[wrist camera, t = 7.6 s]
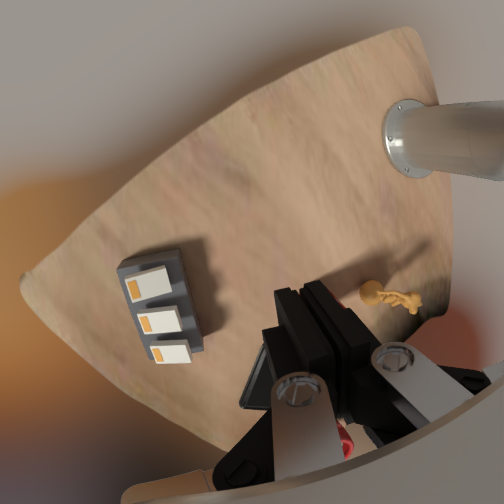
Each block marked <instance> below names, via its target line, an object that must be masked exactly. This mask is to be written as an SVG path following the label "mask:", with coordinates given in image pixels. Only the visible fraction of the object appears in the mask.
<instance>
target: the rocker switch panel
mask: <svg viewBox="0 0 504 504" xmlns="http://www.w3.org/2000/svg"><path fill="white" fill-rule="evenodd" d="M163 265H165V268H166V271H167V275H168V278H169V282H170V286H171V289H172V292H169V293H166V294H162V295H159V296H155V297H152V298H148V299H145V300H141V301H137V302H134V303H132V301H131V298H130V295H129V292H128V289H127V286H126V283H125V276H127V275H131V274H134V273H138V272H141V271H145V270H149V269H152V268H156V267H159V266H163ZM116 271H117V274H118V277H119V280H120V283H121V286H122V289H123V292H124V295H125V298H126V301H127V304H128V306H129V309H130V312H131V315H132V317H133V320H134V323H135V325H136V328H137V330H138V333H139V335H140V338H141V340H142V343H143V345H144V348H145V350H146V352H147V355H148V357H149V359H150V360H153V359H155V358H154V356H153V353H152V351H151V349H150V345H151V343H152V341H165V340H169V339H172V340H184V339H187V341H188V344H189V347H190V350H191V353H196V352H201V351H204V345H203V335H202V332H201V329H200V325H199V322H198V318H197V315H196V311H195V307H194V304H193V300H192V296H191V293H190V289H189V285H188V281H187V277H186V273H185V269H184V265H183V261H182V257H181V253H180V249H179V248H178V249H173V250H168V251H163V252H159V253H154V254H149V255H145V256H140V257H136V258H131V259H126V260H123V261H122V262H121V263H120V265H119V266H118V268H117V269H116ZM174 305H177V308H178V311H179V315H180V318H181V321H182V324H183V327H182V331H177V332H167V333H157V334H144V332H143V329H142V327H141V324H140V321H139V319H138V316H137V313H138V312H139V310H140V309H149V308H157V307H166V306H174Z"/></svg>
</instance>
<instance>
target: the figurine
mask: <svg viewBox="0 0 504 504" xmlns="http://www.w3.org/2000/svg"><path fill="white" fill-rule="evenodd" d="M360 298H361V300H362V301H363V302H364V303H365V304H367V305H370V306H374V305H377V304H379V303H380V302H381V301H382V300H383V302H384V303H390V304H391V305H392V306H393V307H394V306H396V305H399V304H402V305H403V306H405V307H406V308H409V311H410V313H412V314H415V313H417V310H418V306H421V305H422V302H421V301H420V300H421V295H420V294H419V293H418V292H415V291H412V292H407V293H402V292H399V291H384V288H383V286H382V284H381V283H380V282H378V281H375V280H369V281H367V282H365V283H364V284H363V285H362V287H361V289H360Z"/></svg>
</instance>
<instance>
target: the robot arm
mask: <svg viewBox="0 0 504 504" xmlns="http://www.w3.org/2000/svg"><path fill="white" fill-rule="evenodd" d="M382 135H383V143H384V148H385V151H386V153H387V156H388V158H389V160H390V162H391V163H392V164H393V166H394V167H395V168H396V169H397V170H398V171H399V172H400V173H402V174H403V175H405V176H408V177H411V178H423V177H426V176H428V175H429V174H431V173H432V172H433V171H440V172H447V173H454V174H460V175H466V176H472V177H477V178H483V179H488V180H493V181H504V100H500V101H484V102H470V103H458V104H446V105H437V106H429V107H426V106H425V105H424V104H422V103H420V102H418V101H416V100H411V99H409V100H402V101H399V102H397V103H395V104H394V105H392V106H391V107H390V109H389V110H388V111H387V113H386V116H385V118H384V122H383V130H382ZM299 293H300V295H299V294H298V292H297V291H296V290H292V291H291V289H290V288H289V287H288V288H283V289H279V290H275V291H274V297H275V304H276V310H277V316H278V323H279V326H277V327H273V328H268V329H264V330H262V335H263V340H264V346H265V351H266V355H267V359H268V363H269V367H270V371H271V374H272V377H273V381H274V386H273V387H272V390H271V407H270V408H269V409H268V410H267V412H266V413H265V414H264V415H263V416H262V417H261V418H260V419H259V421H258V422H257V423H256V424H255V425H254V426H253V427H252V428H251V429H250V430H249V432H248V433H247V434H246V435H245V436H244V437H243V438H242V439H241V440H240V441H239V442H238V443H237V444H236V445H235V446H234V447H233V448H232V449H231V450H230V451H229V452H228V453H227V454H226V455H225V457H223V458H222V459H221V461H219V463H218V464H217V465H216V467H215V468H214V469H211V470H208V471H205V472H202V470H201V469H200V470H197V471H193V472H190V473H186V474H182V475H178V476H174V477H170V478H166V479H162V480H157V481H152V482H147V483H142V484H137V485H135V486H132V487H130V488H129V489H128V490H126V491H125V492H124V494H123V496H122V498H121V504H504V361H501V362H499V363H496V364H494V365H491V366H489V367H486V368H484V369H482V371H481V372H480V371H476V370H470V369H462V368H455V367H447V366H440V365H435V364H434V363H433V362H432V361H430V360H429V359H428V358H426V357H425V356H424V355H423V354H421V353H420V352H419V351H417V350H416V349H414V347H412V346H410V345H408V344H405V343H400V342H392V343H386V344H384V345H382V344H381V343H380V342H379V341H378V340H377V339H376V337H375V336H374V335H373V334H372V333H371V331H370V330H369V329H368V328H367V327H366V326H365V324H364V323H363V322H362V321H361V320H360V319H359V318H358V316H357V315H356V314H355V313H354V312H353V311H352V310H351V309H350V308H346V309H344V308H343V307H342V306H341V305H340V304H339V302H338V301H337V300H336V299H335V298H334V297H333V295H332V294H331V293H330V292H329V291H328V289H327V288H326V287H325V286H324V285H323V284H322V282H321V281H320V280H317V281H313V282H309V283H305V284H304V288H301V289H300V290H299ZM337 417H338V418H342V417H343V418H344V420H345V422H346V424H347V425H348V424H351V423H354V422H355V423H356V424H360V425H363V429H364V431H365V433H366V434H367V436H368V437H369V438H370V439H371V441H372V442H373V443H374V444H375V446H376V447H377V448H378V449H376V450H373V451H371V452H368V453H366V454H363V455H361V456H358V457H355V458H353V459H350V460H347V461H345V457H344V453H343V449H342V445H341V440H340V436H339V432H338V428H337V424H336V419H337Z"/></svg>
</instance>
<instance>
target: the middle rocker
mask: <svg viewBox="0 0 504 504" xmlns="http://www.w3.org/2000/svg"><path fill="white" fill-rule="evenodd" d="M137 316H138V319H139V321H140V324H141V327H142V329H143V332H144V334H157V333H167V332H177V331H182V327H183V324H182V321H181V318H180V315H179V311H178V308H177V305H174V306H166V307H157V308H149V309H140V310H139V312H138V313H137Z"/></svg>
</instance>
